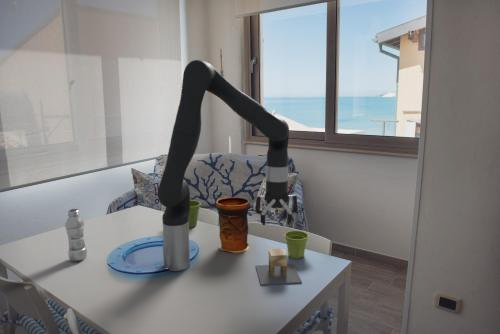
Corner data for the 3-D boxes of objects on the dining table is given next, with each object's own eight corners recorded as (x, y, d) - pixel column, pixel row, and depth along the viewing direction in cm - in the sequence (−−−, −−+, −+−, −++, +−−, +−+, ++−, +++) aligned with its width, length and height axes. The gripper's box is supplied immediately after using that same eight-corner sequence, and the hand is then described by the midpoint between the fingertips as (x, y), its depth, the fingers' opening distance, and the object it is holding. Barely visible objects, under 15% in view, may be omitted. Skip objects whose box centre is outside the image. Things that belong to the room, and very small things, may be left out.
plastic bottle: (91, 257, 148) (86, 208, 144) (76, 264, 142) (71, 214, 138) (79, 254, 150) (74, 206, 147) (64, 261, 144) (59, 211, 141)
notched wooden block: (271, 277, 130) (271, 255, 129) (268, 270, 135) (268, 249, 134) (286, 276, 131) (286, 255, 129) (283, 269, 136) (283, 248, 134)
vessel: (209, 250, 154) (209, 203, 150) (225, 238, 167) (224, 195, 164) (242, 256, 149) (242, 207, 145) (255, 243, 162) (255, 198, 158)
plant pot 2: (307, 261, 143) (308, 240, 142) (282, 259, 145) (283, 238, 144) (308, 251, 152) (309, 231, 151) (285, 249, 154) (285, 229, 153)
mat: (260, 285, 126) (260, 284, 125) (255, 266, 139) (255, 265, 139) (301, 283, 127) (301, 281, 127) (292, 264, 141) (292, 263, 141)
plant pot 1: (190, 231, 175) (189, 208, 173) (171, 226, 182) (170, 204, 179) (206, 224, 185) (205, 202, 183) (188, 220, 191) (187, 198, 189)
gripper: (257, 181, 123) (256, 228, 126) (300, 180, 124) (298, 227, 127) (254, 176, 130) (254, 221, 133) (295, 175, 131) (293, 220, 135)
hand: (276, 224), depth 130 cm, fingers open, 8 cm apart
